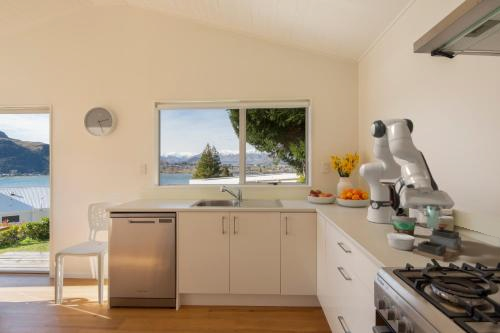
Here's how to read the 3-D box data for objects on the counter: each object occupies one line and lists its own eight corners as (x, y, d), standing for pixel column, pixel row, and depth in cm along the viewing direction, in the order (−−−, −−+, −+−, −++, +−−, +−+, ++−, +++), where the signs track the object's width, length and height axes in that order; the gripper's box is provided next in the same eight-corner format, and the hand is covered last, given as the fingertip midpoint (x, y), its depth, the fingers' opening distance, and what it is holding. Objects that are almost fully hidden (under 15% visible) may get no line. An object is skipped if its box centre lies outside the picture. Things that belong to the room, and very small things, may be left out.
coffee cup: (426, 238, 132) (427, 215, 132) (439, 236, 135) (440, 214, 134) (445, 244, 123) (445, 219, 123) (458, 242, 126) (459, 218, 126)
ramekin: (414, 245, 120) (414, 234, 120) (415, 253, 111) (415, 241, 111) (387, 241, 126) (387, 231, 126) (386, 248, 117) (386, 237, 116)
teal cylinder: (429, 225, 110) (429, 205, 110) (440, 227, 107) (440, 206, 107) (425, 227, 108) (425, 206, 108) (436, 229, 105) (436, 207, 105)
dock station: (435, 243, 123) (435, 227, 123) (463, 250, 114) (464, 232, 114) (412, 253, 110) (413, 234, 110) (442, 261, 101) (443, 241, 101)
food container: (393, 235, 137) (393, 216, 137) (391, 232, 143) (391, 214, 143) (420, 237, 133) (420, 218, 133) (416, 234, 139) (416, 216, 139)
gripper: (442, 195, 118) (456, 220, 108) (395, 194, 120) (405, 219, 110) (448, 186, 113) (464, 212, 104) (400, 185, 116) (410, 210, 106)
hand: (433, 215), depth 107 cm, fingers closed on teal cylinder, 4 cm apart
